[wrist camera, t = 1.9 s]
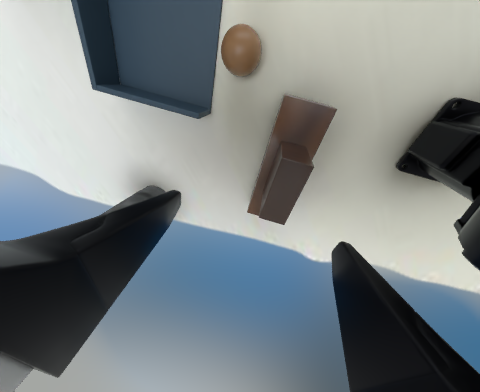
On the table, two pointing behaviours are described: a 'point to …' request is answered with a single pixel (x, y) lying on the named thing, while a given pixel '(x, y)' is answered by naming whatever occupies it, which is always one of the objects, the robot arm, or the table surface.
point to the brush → (289, 157)
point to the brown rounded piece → (241, 50)
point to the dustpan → (152, 50)
